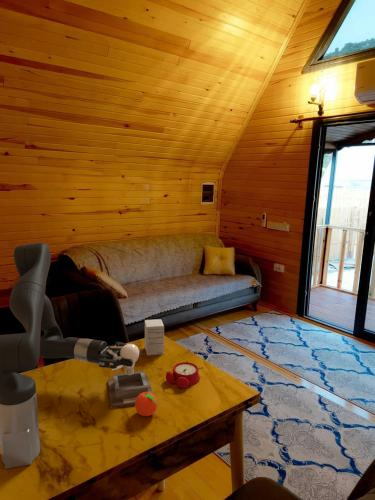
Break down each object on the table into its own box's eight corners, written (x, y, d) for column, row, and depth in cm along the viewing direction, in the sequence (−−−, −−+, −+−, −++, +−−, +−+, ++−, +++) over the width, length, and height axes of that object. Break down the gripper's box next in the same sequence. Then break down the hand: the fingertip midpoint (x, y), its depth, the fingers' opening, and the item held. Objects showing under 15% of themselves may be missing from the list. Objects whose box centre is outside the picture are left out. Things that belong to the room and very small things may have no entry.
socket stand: (154, 402, 121) (154, 391, 120) (111, 408, 117) (110, 397, 116) (147, 376, 136) (147, 366, 135) (108, 381, 132) (107, 371, 131)
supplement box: (144, 347, 158) (144, 319, 155) (161, 346, 159) (161, 318, 157) (146, 356, 151) (146, 326, 148) (164, 354, 152) (164, 325, 150)
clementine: (164, 413, 115) (164, 393, 113) (150, 425, 109) (150, 404, 108) (145, 404, 119) (145, 384, 118) (130, 415, 114) (129, 394, 112)
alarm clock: (207, 366, 137) (184, 375, 124) (204, 383, 137) (181, 393, 124) (184, 358, 142) (160, 365, 130) (181, 374, 142) (157, 383, 130)
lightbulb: (121, 381, 121) (120, 350, 119) (119, 370, 127) (119, 341, 125) (140, 378, 123) (140, 348, 121) (137, 368, 129) (137, 339, 127)
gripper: (79, 350, 120) (127, 358, 116) (100, 332, 133) (144, 338, 129) (80, 371, 121) (127, 379, 117) (101, 351, 135) (144, 358, 131)
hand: (136, 358), depth 123 cm, fingers closed on lightbulb, 6 cm apart
